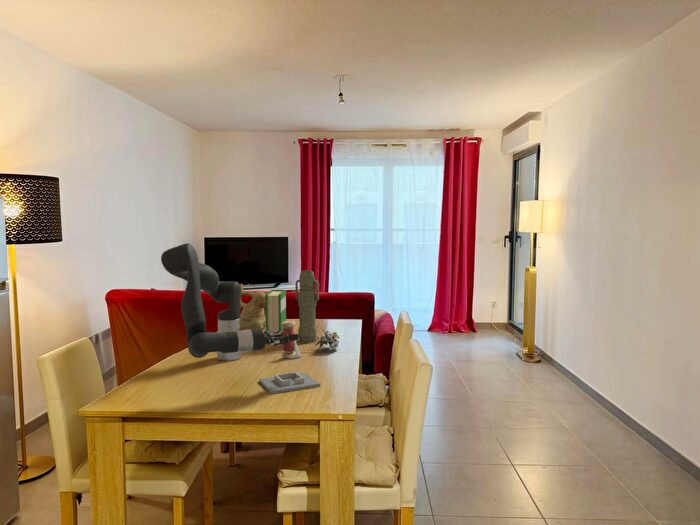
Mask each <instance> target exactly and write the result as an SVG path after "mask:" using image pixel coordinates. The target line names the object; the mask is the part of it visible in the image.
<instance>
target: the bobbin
mask: <svg viewBox="0 0 700 525" xmlns="http://www.w3.org/2000/svg"><path fill="white" fill-rule="evenodd" d="M281 324H282V326H284V328H283V335H286V334H288V335H290V334H295V326H296V321H293V320H292V321H291V320H289V321H288V320H286V321H285V322H282V323H281ZM284 340H285V338H284ZM294 350H295V341H289V343H287V344H282V352H281V357H283V358H285V357H294V356H296V352H294Z"/></svg>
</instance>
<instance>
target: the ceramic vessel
mask: <svg viewBox="0 0 700 525" xmlns="http://www.w3.org/2000/svg"><path fill="white" fill-rule="evenodd" d="M239 284H240V283H239ZM243 285H244V284H243V283H241V284H240V288H241V298H243V297H245V296H248V297H251V298H252V299H251V300H250V301H249V302H247V303H245V302H243V301H242V300H241V304H240V309H241V308H242V310H241V311H240V330H248V329H259V328H261V329H263V330H264V329H266V314H265V294H267V292H265V291H262V290H259V291H257V292H254V291H249V290H244V286H243Z"/></svg>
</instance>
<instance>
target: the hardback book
mask: <svg viewBox="0 0 700 525" xmlns="http://www.w3.org/2000/svg"><path fill="white" fill-rule="evenodd" d="M286 290H287V289H271V290H269V291H267V292H266V294H265V308H264V313H265V317H266V327H265V331H280V332H281V331H282V332H283V328H284V326H282V324H281V323H282V322H285V321H287V298H286V297H287V296H286V295H287V291H286Z"/></svg>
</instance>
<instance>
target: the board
mask: <svg viewBox="0 0 700 525" xmlns="http://www.w3.org/2000/svg"><path fill="white" fill-rule="evenodd" d="M258 382H259V383H260V385H262V386H263V388H265V389H266V390H267V391H268V392H269V393H270V394H271V395H274V394H280V393H287V392H292V391H299V390H306V389H312V388H319V387H321V382H319V381H318V380H316V379H315V378H313V377H312V376H310V375H309V374H307V373H306V372H298V371H292V372H286V373H277V374H274V376H271V377H263V378H258Z"/></svg>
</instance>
